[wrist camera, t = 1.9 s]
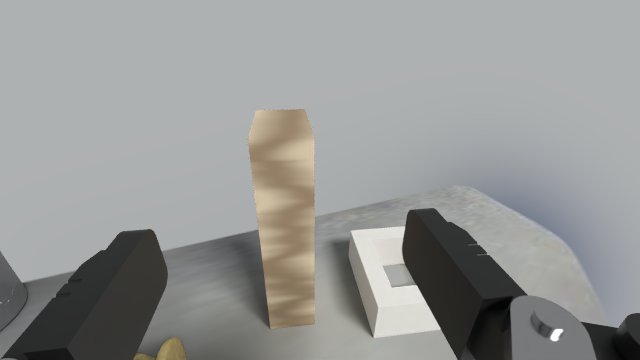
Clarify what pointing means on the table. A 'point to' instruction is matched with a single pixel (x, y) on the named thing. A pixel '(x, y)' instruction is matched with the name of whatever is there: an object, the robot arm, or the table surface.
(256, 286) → the table surface
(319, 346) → the table surface
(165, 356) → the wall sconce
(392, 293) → the square well
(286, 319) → the wooden l-shaped block
